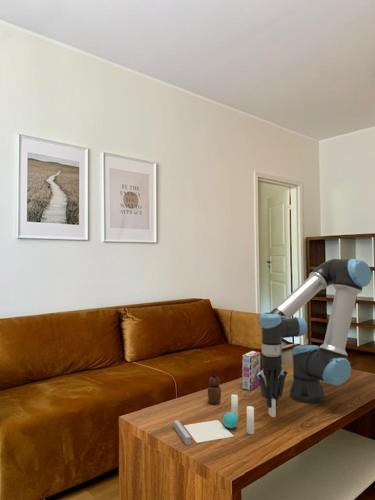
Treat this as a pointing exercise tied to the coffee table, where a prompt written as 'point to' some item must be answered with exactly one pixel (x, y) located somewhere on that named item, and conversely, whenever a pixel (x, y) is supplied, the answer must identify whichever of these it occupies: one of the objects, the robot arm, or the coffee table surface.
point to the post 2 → (250, 420)
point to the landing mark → (207, 431)
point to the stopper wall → (182, 432)
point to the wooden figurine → (214, 389)
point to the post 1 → (234, 404)
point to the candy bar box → (250, 370)
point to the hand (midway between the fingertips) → (272, 415)
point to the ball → (230, 420)
